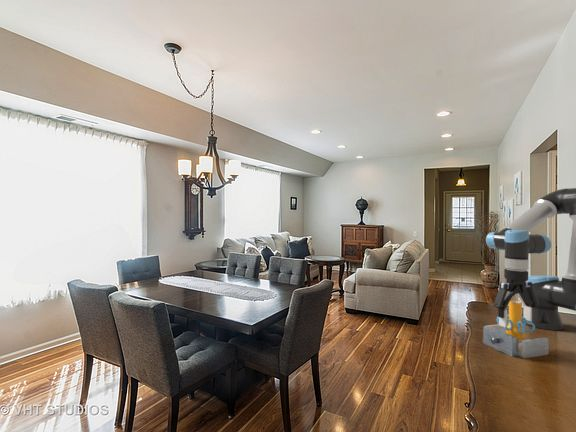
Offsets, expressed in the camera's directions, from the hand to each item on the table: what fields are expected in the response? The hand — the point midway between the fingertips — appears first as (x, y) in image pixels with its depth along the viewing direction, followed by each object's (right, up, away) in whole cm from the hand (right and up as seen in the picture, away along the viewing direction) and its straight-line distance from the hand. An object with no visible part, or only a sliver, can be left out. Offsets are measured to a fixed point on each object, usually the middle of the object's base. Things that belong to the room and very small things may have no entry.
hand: (515, 324), depth 119 cm
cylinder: (0, -6, 0) cm, 6 cm away
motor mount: (-3, -9, -1) cm, 9 cm away
